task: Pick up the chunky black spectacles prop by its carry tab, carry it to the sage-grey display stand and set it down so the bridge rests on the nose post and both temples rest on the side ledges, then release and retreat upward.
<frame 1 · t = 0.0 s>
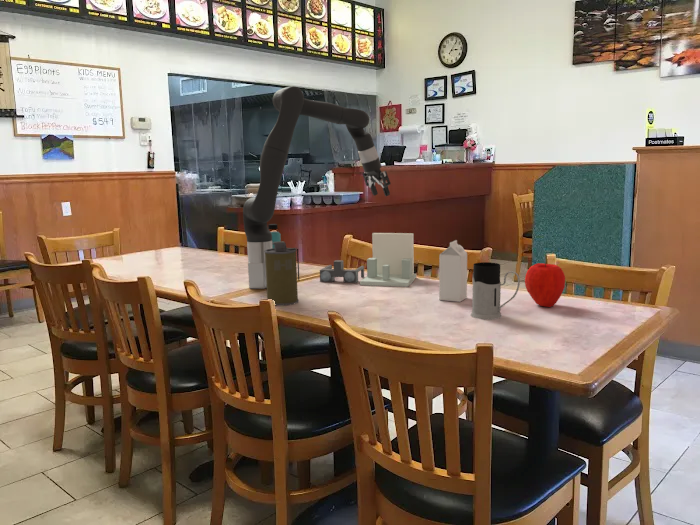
hand: (381, 195, 240), 31 cm above the table, tool tilted 20°, fingers open, 8 cm apart
spectacles: (339, 281, 220), on the table
beverage bottle: (275, 269, 250), on the table
canister: (283, 302, 188), on the table
display stand: (386, 283, 213), on the table
glass holder: (494, 317, 163), on the table
apple: (543, 306, 175), on the table
milk carton: (453, 299, 186), on the table
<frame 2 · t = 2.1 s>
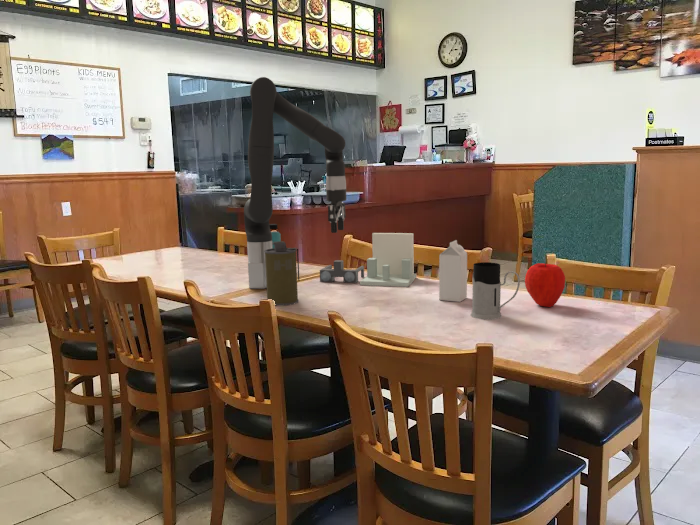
hand: (337, 231, 217), 19 cm above the table, tool pointing down, fingers open, 8 cm apart
nothing on the table moved.
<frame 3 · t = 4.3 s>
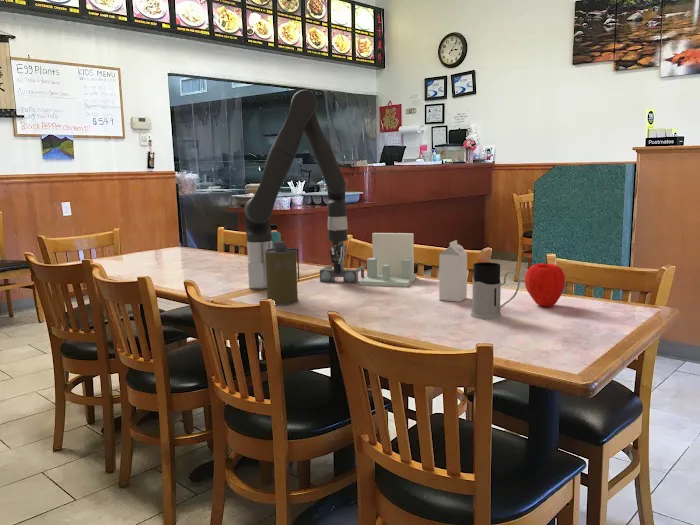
hand: (338, 272, 219), 3 cm above the table, tool pointing down, fingers closed on spectacles, 3 cm apart
spectacles: (339, 281, 220), on the table, touching gripper
everything else where it was.
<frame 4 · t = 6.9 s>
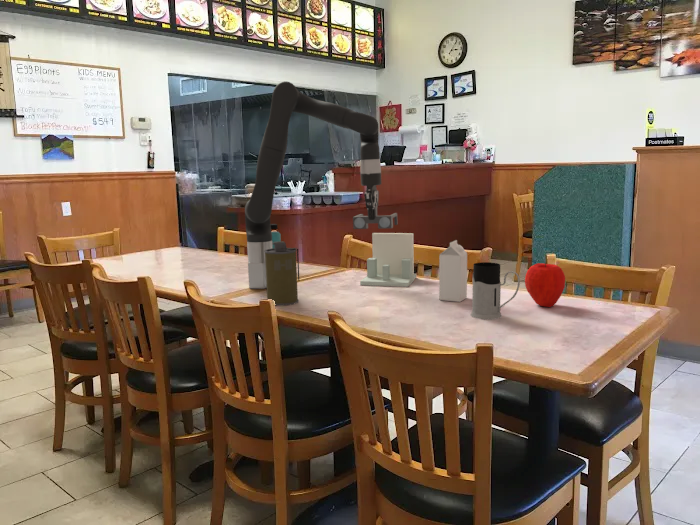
hand: (372, 219, 212), 24 cm above the table, tool pointing down, fingers closed on spectacles, 3 cm apart
spectacles: (373, 228, 212), point 21 cm above the table, touching gripper
everything else where it was.
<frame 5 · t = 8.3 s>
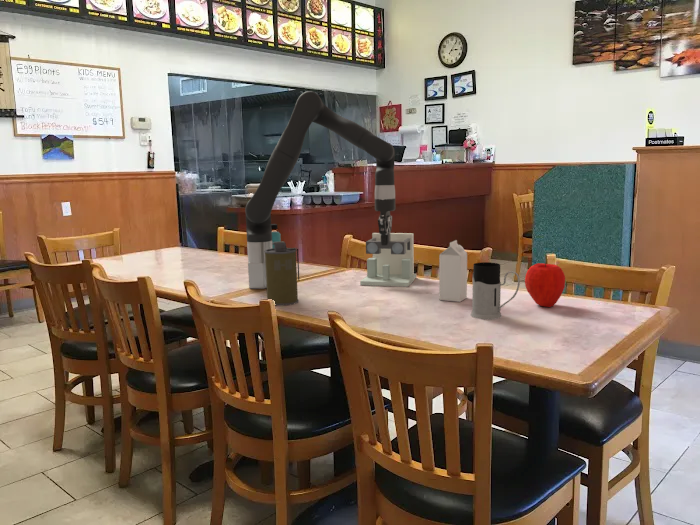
hand: (385, 244, 211), 15 cm above the table, tool pointing down, fingers closed on spectacles, 3 cm apart
spectacles: (385, 253, 211), point 11 cm above the table, touching gripper
everything else where it was.
when the fingers open (10 cm above the table, at t = 9.7 s): spectacles drops 1 cm, resting on display stand.
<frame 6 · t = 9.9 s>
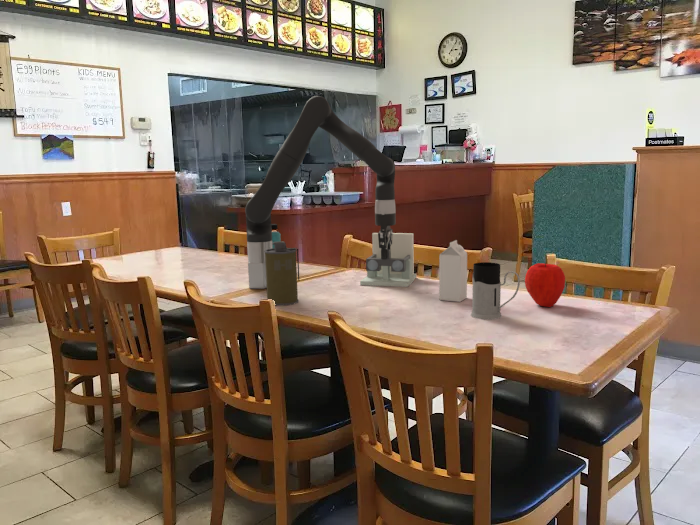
hand: (385, 257, 212), 10 cm above the table, tool pointing down, fingers open, 4 cm apart
spectacles: (386, 270, 212), point 5 cm above the table, touching display stand
everything else where it was.
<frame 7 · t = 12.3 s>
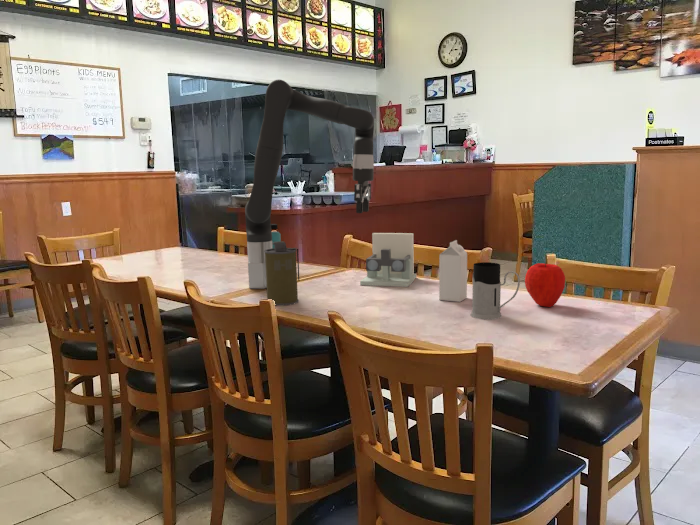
hand: (362, 212, 209), 27 cm above the table, tool pointing down, fingers open, 8 cm apart
nothing on the table moved.
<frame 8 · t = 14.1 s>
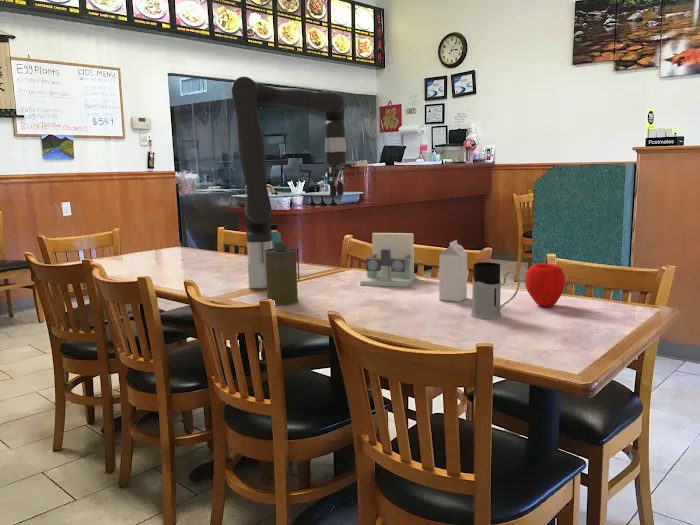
hand: (336, 196, 208), 33 cm above the table, tool pointing down, fingers open, 8 cm apart
nothing on the table moved.
at the end: spectacles 0.0 cm off-centre on the display stand, point 5.0 cm above the display stand's base; spectacles tilted 0°; the gripper is holding nothing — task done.
